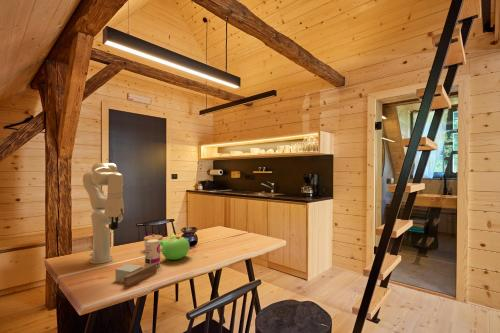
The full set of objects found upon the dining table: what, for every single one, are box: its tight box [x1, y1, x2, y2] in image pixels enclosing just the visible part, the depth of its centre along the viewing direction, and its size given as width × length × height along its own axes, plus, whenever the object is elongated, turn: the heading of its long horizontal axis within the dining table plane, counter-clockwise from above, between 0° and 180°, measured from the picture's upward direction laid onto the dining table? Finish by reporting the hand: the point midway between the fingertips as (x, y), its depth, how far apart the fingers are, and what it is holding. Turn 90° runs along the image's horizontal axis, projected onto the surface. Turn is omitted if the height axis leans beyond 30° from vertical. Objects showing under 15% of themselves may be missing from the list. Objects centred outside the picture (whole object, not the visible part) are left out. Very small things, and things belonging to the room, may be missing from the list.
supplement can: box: [144, 239, 161, 268], centre depth 157 cm, size 8×8×15 cm
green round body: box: [160, 233, 191, 261], centre depth 170 cm, size 18×17×15 cm
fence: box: [123, 263, 157, 289], centre depth 138 cm, size 2×20×5 cm, turn 159°
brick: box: [115, 263, 143, 283], centre depth 139 cm, size 10×8×6 cm
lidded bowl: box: [143, 233, 164, 248], centre depth 188 cm, size 13×13×11 cm
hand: (114, 228), depth 148 cm, fingers closed
